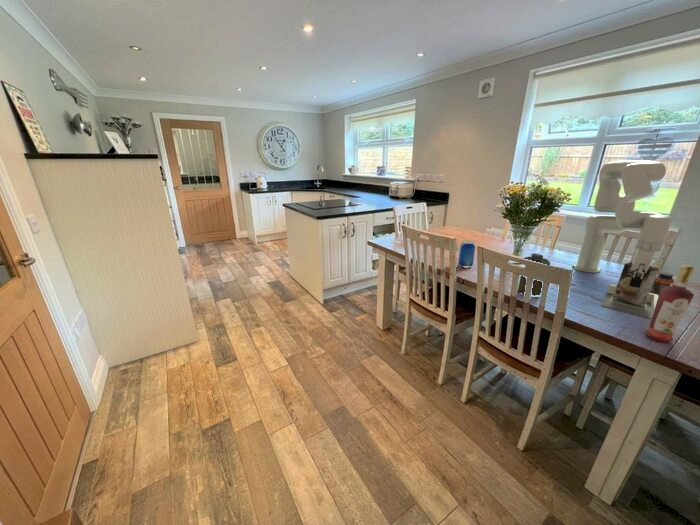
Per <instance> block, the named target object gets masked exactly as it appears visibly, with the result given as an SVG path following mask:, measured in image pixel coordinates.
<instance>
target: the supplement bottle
mask: <svg viewBox="0 0 700 525" xmlns="http://www.w3.org/2000/svg"><path fill="white" fill-rule="evenodd" d="M673 277H674V274H672V273H669V272H666V271H665V272H663V271H661V272H660V273H659V275H658V276H657V275H656V278H655V280H654V283H653V285H652V288H651V290H650V293H653V294H657V295H658V297H659V294H660V291H661V288H662V287H666V286H673V284H674V282H675V280H674V278H673Z"/></svg>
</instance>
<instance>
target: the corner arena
mask: <svg viewBox="0 0 700 525" xmlns="http://www.w3.org/2000/svg"><path fill="white" fill-rule="evenodd" d="M616 287H617V285H615V284H608V287H607V291H606V293H605V297H604V299H603V301H602V304H601V307H602V308H607V309H610V310H615V311H619V312H623V313H627V314H631V315H634V316H638V317H640V318H641V317H642V318H646V319H650V320H651V319H652V316H653V313H654V310H655V307H656V303H657V300H658V295H657V294H653V293H649V295H648V297H647V300H646V302H644V303H641V304H638V305H637V304H634V303H631V302H629V301H626V300H623V299H621V298H618V297H615V296H613V295H614V293H615V290H616Z"/></svg>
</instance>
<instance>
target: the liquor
mask: <svg viewBox="0 0 700 525" xmlns="http://www.w3.org/2000/svg"><path fill="white" fill-rule="evenodd" d="M694 268H695V267H694V266H692V265H688V264H682V265H681V266H680V268H679V273H678V276H676V279H675V280H674V283H673V286H666V287H662V288H661V291H660V294H659V297H658V300H657V303H656V307H655V310H654V313H653V316H652V319H650V323H649V325H648V328H647V329H645V331H644V333H645V335H647V336H648V338H650V339H651V338H652V339H651V340H653V339H654V340H653V341H656V340H657V341H656V342H659V341H661V342H660V343H667V342H673V340H674V339H673V335H674V334H675V332H676V329H677V327H678V326H679V324H680V321H681V320H682V318H683V317H684V315H685V313H686V311H687V309H688V307H689V306H690V303H691V302H692V300H693V298H694V296H695V295H694V293H693V292H692V291H691V290H689V289H687V286H688V283H689V279H690V276H691V275H692V273H693V271H694Z"/></svg>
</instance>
